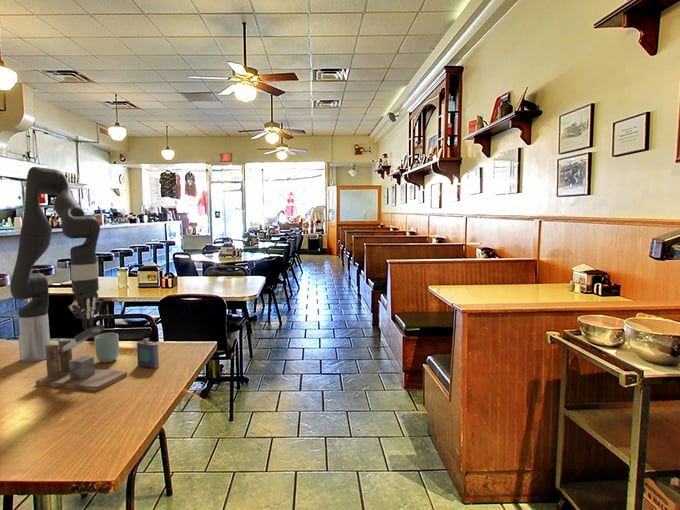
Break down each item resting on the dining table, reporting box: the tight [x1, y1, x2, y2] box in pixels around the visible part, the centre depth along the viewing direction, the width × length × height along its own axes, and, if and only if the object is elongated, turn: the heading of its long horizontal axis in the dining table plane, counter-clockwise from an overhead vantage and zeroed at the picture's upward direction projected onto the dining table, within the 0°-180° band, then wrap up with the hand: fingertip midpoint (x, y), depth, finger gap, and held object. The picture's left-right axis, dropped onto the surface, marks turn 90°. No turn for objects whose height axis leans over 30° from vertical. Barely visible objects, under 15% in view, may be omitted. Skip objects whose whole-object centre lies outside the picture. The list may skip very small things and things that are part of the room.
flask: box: [136, 337, 160, 369], centre depth 154 cm, size 9×3×11 cm, turn 68°
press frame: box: [35, 339, 128, 392], centre depth 141 cm, size 24×13×12 cm, turn 77°
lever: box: [58, 323, 105, 356], centre depth 141 cm, size 19×6×2 cm, turn 77°
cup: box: [94, 332, 120, 364], centre depth 160 cm, size 8×8×10 cm
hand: (88, 329), depth 139 cm, fingers closed
